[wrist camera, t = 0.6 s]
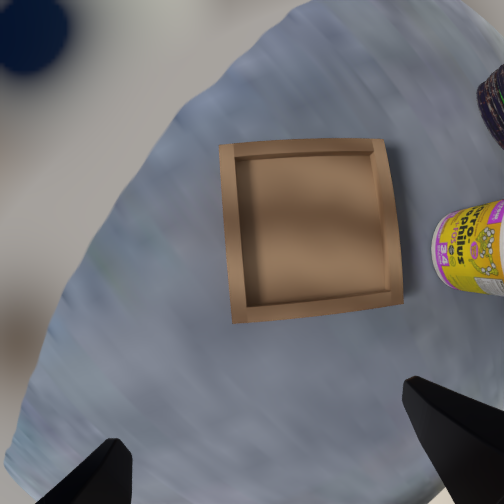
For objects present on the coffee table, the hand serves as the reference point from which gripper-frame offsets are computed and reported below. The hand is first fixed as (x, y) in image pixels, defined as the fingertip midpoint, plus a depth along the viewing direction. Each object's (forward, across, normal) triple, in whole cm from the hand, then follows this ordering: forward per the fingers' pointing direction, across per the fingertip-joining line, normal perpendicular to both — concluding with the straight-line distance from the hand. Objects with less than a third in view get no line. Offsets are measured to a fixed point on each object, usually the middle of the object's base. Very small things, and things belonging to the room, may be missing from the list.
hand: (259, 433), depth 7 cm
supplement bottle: (+14, -18, +3) cm, 23 cm away
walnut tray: (+15, -6, -2) cm, 16 cm away
